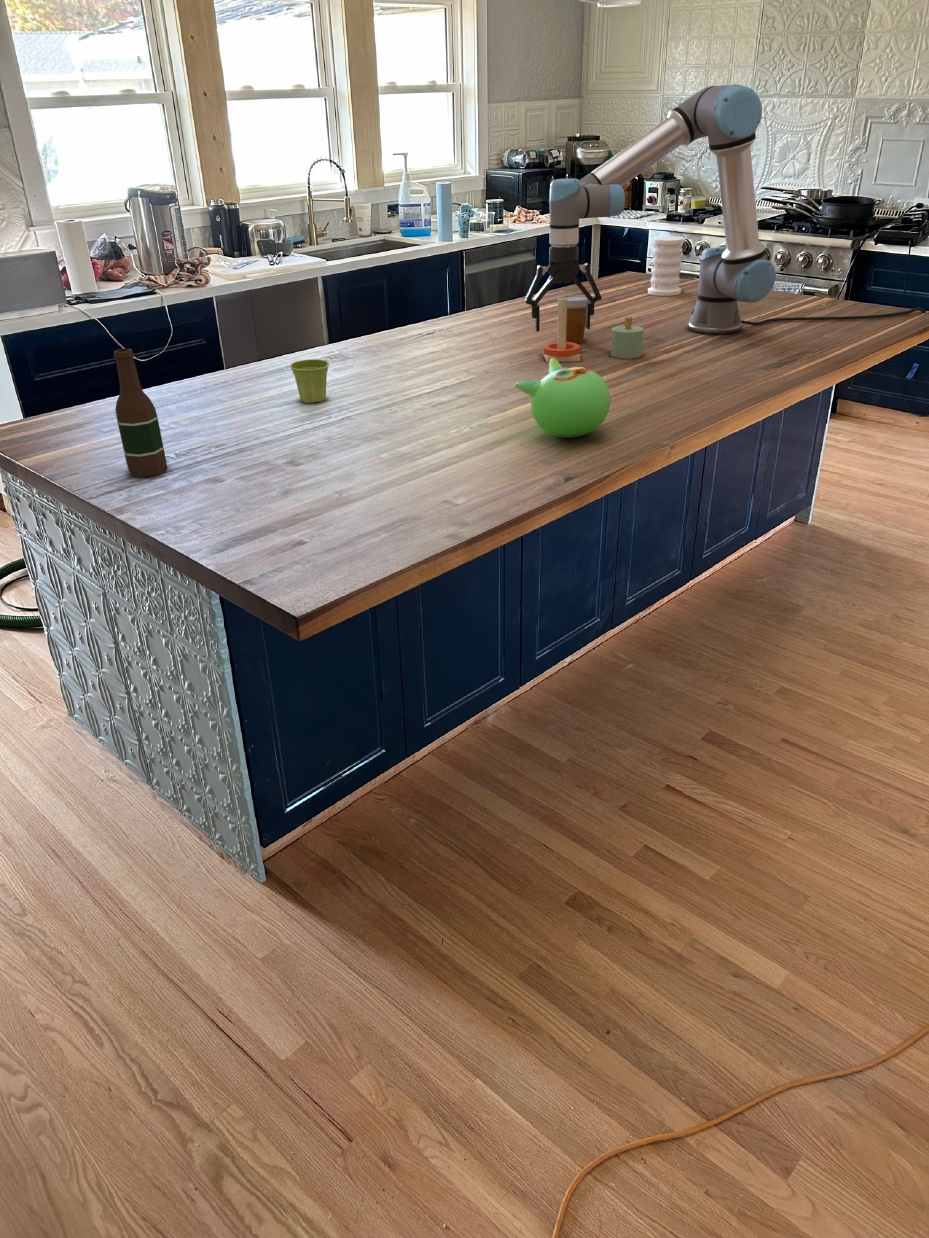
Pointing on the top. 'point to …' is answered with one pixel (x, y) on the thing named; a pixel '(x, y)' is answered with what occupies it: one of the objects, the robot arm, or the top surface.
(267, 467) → the top surface
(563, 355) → the ring
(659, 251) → the decorative container
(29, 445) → the top surface
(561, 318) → the tall post
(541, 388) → the toy bird
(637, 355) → the green cylinder with peg
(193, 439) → the top surface
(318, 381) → the plant pot
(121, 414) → the beer bottle
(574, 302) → the disposable coffee cup
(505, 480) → the top surface
